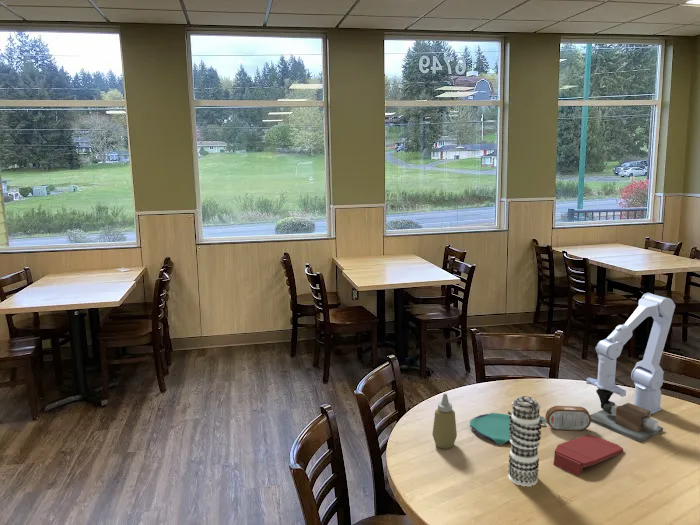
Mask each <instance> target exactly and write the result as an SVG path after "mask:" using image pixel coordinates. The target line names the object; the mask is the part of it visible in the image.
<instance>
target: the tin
mask: <svg viewBox="0 0 700 525" xmlns="http://www.w3.org/2000/svg"><path fill="white" fill-rule="evenodd" d="M590 415H591V414H590V412H589V411H588V409H586V408H585V407H582V406H571V405H554V406H551V407H550V408H548V410H547V411H546V413H545V417H544V418H545V419H546V421H547V423H548V426H549V427H550V428H551V429H553V430H556V431H569V432H571V431H572V432H573V431H574V432H581V431H584V430H587V429H588V428H589V427H590V425H591V423H592V422H591V416H590ZM547 423H546V424H547Z"/></svg>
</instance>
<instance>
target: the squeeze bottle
mask: <svg viewBox="0 0 700 525" xmlns="http://www.w3.org/2000/svg"><path fill="white" fill-rule="evenodd" d="M457 432H458V431H457V421H456V412H455V410H454V409H453V405H452V403H451V402H449V398H448V394H447V393H443V394H442V397H441V401H440V402H438V404H437V408H436V409H435V411H434V418H433V427H432V438H433V440H434V444H435V445H436V447H438V448H440V449H444V450H445V449H451V448H453V447H454V444H455V443H456V440H457V436H458V434H457Z"/></svg>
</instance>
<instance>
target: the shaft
mask: <svg viewBox="0 0 700 525" xmlns="http://www.w3.org/2000/svg"><path fill="white" fill-rule="evenodd" d="M619 406H620V405H618V404H617V405H616V402H614V401H611V400H610V399H609V400H608V401H606V402H605V403H604V406H603V409H602V410H604V412H606V413H609V414H612V413H613V414H616V409H617V407H619ZM641 425H643V426H646V427H648V428H651V429H653V430H654V429H656V428H658V426H659V421H658V420H656V419H653V418H651V417H650V418H648V417H646V416H645V417H643V418H642V421H641Z"/></svg>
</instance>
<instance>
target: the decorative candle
mask: <svg viewBox="0 0 700 525" xmlns="http://www.w3.org/2000/svg"><path fill="white" fill-rule="evenodd" d="M511 406H512V411H511V413H512V414H511V415H509V419H510V423H509V425H510V428H509V430H510V435H509V436H510V441H509V443H510V452H509V455H508V458H509V460H508V462H509V464H508V466H507V467H508V477H509V478H508V477H507V478H508V479H509V481H510V482H511V483H513V484H514V483H515V485H518V486H519V485H521V487H525V486H527V487H533V486H535V485H537V484H538V483H537V482H538V481H539V480H538V479H539V471H540V470H539V465H540V463H539V462H540V458H539V452H538V449H539V448H538V447H540V441H541V438H542V437H541V435H542V431H541V430H542V428H543V425H542V424H543V423H542V422H543V421H542V420H541V419H540V416H541V415H540V410H541V404H540V403H539V402H538V401H537V400H536V399H535V398H534V397H530V396H527V395H522V396H518V397H516V398H515V399H514V400H512V401H511ZM511 417H512V419H511ZM511 429H512V430H511ZM536 483H537V484H536ZM532 485H533V486H532Z"/></svg>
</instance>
